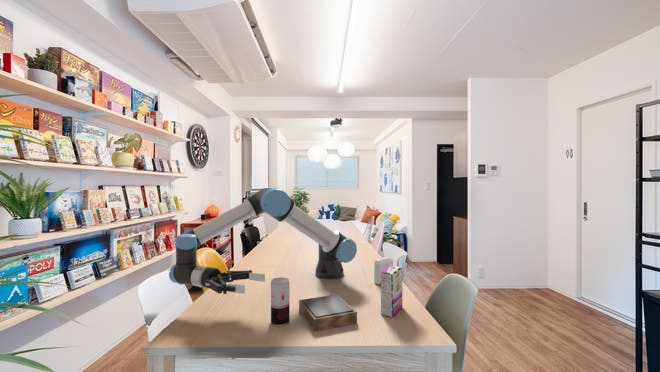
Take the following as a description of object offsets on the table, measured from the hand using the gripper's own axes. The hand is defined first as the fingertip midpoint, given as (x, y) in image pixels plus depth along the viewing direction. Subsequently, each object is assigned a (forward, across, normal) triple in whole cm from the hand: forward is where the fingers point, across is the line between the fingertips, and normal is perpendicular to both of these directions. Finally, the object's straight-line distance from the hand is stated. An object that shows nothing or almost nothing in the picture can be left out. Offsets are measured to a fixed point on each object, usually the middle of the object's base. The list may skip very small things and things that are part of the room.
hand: (255, 283), depth 114 cm
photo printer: (+39, -55, -12) cm, 68 cm away
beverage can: (+10, 0, -13) cm, 16 cm away
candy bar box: (+47, -22, -12) cm, 53 cm away
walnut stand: (+24, -10, -12) cm, 29 cm away
